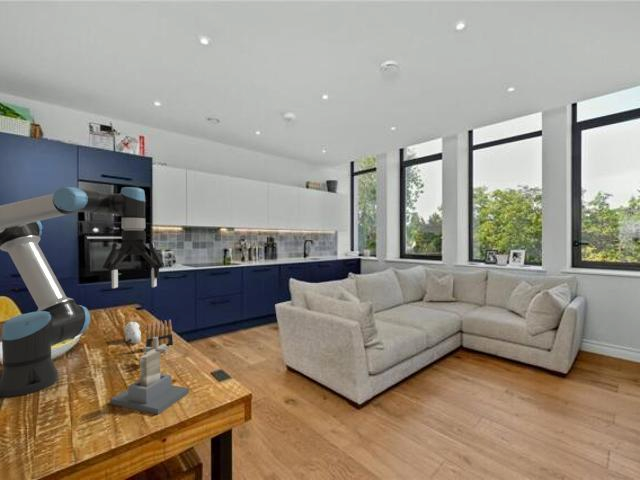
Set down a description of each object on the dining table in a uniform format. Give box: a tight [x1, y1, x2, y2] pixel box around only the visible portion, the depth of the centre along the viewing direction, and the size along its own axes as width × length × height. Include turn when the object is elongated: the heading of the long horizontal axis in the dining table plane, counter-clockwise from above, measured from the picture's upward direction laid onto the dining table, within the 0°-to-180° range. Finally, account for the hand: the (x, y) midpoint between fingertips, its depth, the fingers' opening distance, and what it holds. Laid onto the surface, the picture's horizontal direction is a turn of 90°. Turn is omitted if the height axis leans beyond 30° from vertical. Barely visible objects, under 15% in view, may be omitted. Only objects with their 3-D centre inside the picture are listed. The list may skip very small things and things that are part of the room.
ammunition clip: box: [145, 319, 174, 347], centre depth 134 cm, size 11×2×12 cm, turn 133°
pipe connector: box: [142, 337, 169, 356], centre depth 118 cm, size 10×10×10 cm
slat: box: [139, 351, 161, 387], centre depth 93 cm, size 2×5×12 cm, turn 162°
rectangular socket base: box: [109, 372, 190, 415], centre depth 93 cm, size 18×12×6 cm, turn 72°
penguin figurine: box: [123, 321, 142, 345], centre depth 142 cm, size 6×8×12 cm
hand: (134, 287), depth 112 cm, fingers open, 13 cm apart
